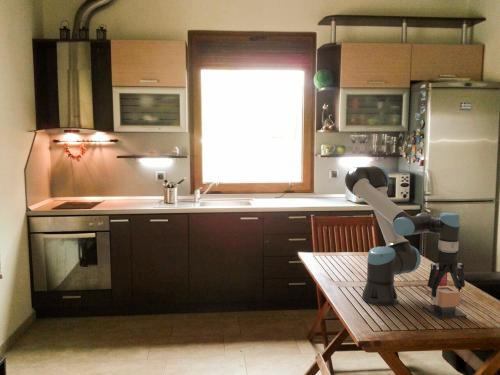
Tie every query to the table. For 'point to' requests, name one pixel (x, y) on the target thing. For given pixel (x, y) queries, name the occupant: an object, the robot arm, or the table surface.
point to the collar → (448, 297)
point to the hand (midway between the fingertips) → (445, 303)
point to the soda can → (443, 281)
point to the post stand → (444, 310)
